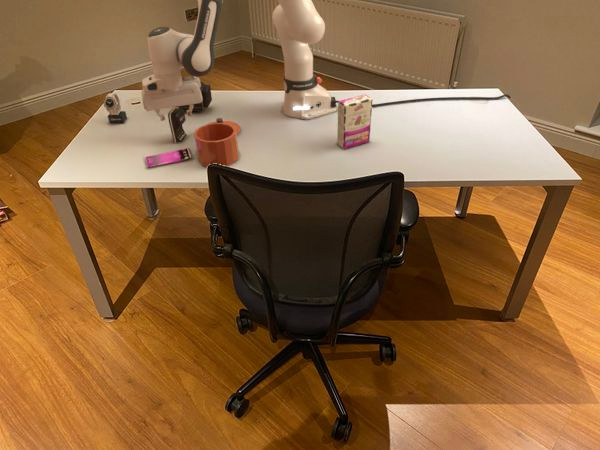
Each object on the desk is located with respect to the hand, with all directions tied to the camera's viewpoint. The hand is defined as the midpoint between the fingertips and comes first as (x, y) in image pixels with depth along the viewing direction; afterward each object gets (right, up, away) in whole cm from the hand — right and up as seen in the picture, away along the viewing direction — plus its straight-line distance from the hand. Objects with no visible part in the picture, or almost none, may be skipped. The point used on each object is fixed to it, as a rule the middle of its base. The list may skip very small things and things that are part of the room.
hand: (176, 117), depth 156 cm
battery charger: (0, -7, +6) cm, 9 cm away
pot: (+16, -15, -5) cm, 22 cm away
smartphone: (-1, -16, -5) cm, 17 cm away
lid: (+14, -3, +9) cm, 17 cm away
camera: (+1, +9, +25) cm, 26 cm away
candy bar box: (+63, -9, +1) cm, 64 cm away
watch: (-28, +3, +18) cm, 34 cm away
